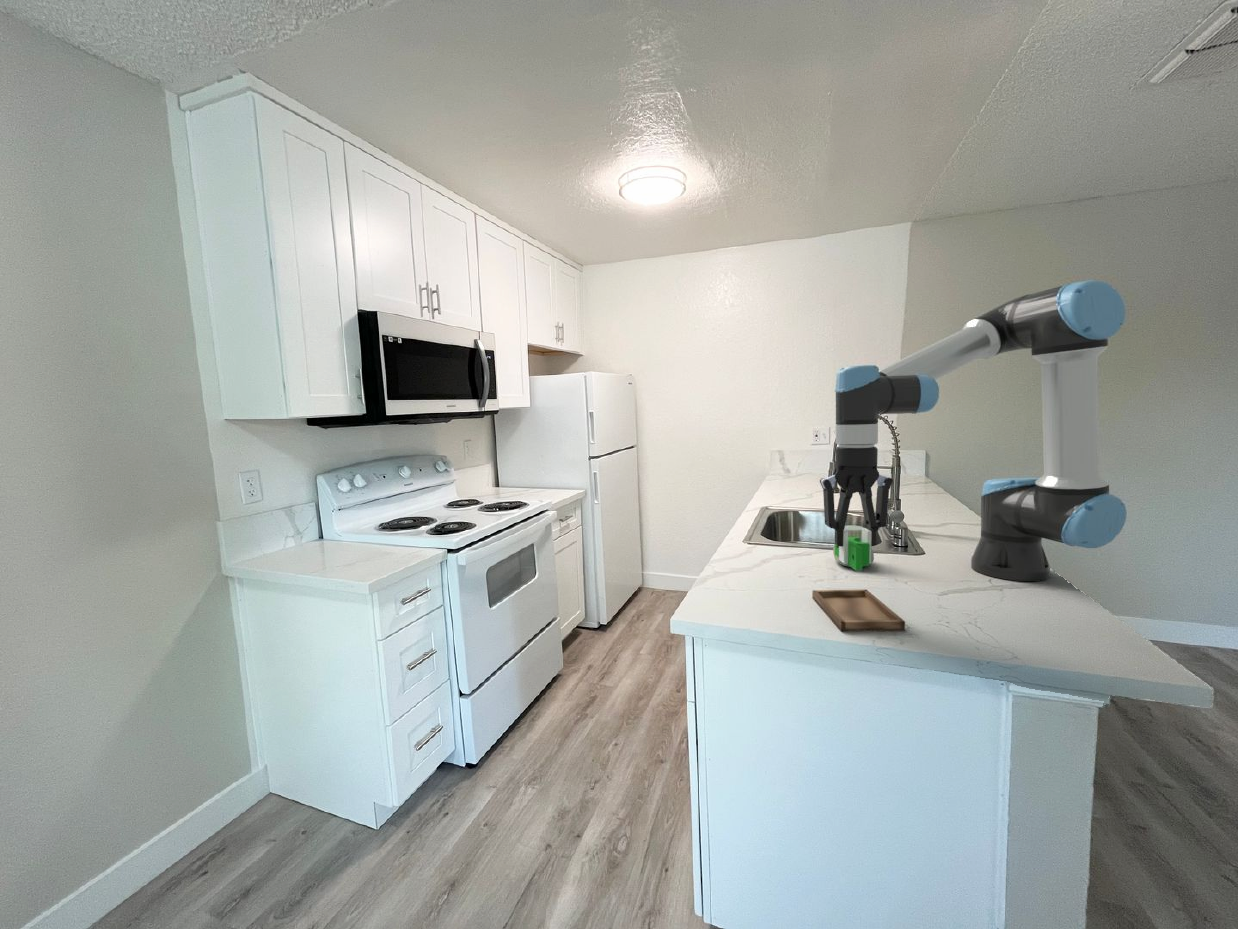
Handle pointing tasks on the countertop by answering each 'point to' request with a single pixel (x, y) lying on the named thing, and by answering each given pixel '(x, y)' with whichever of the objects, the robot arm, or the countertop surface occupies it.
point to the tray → (857, 611)
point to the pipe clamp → (856, 553)
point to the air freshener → (853, 532)
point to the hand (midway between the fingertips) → (854, 561)
